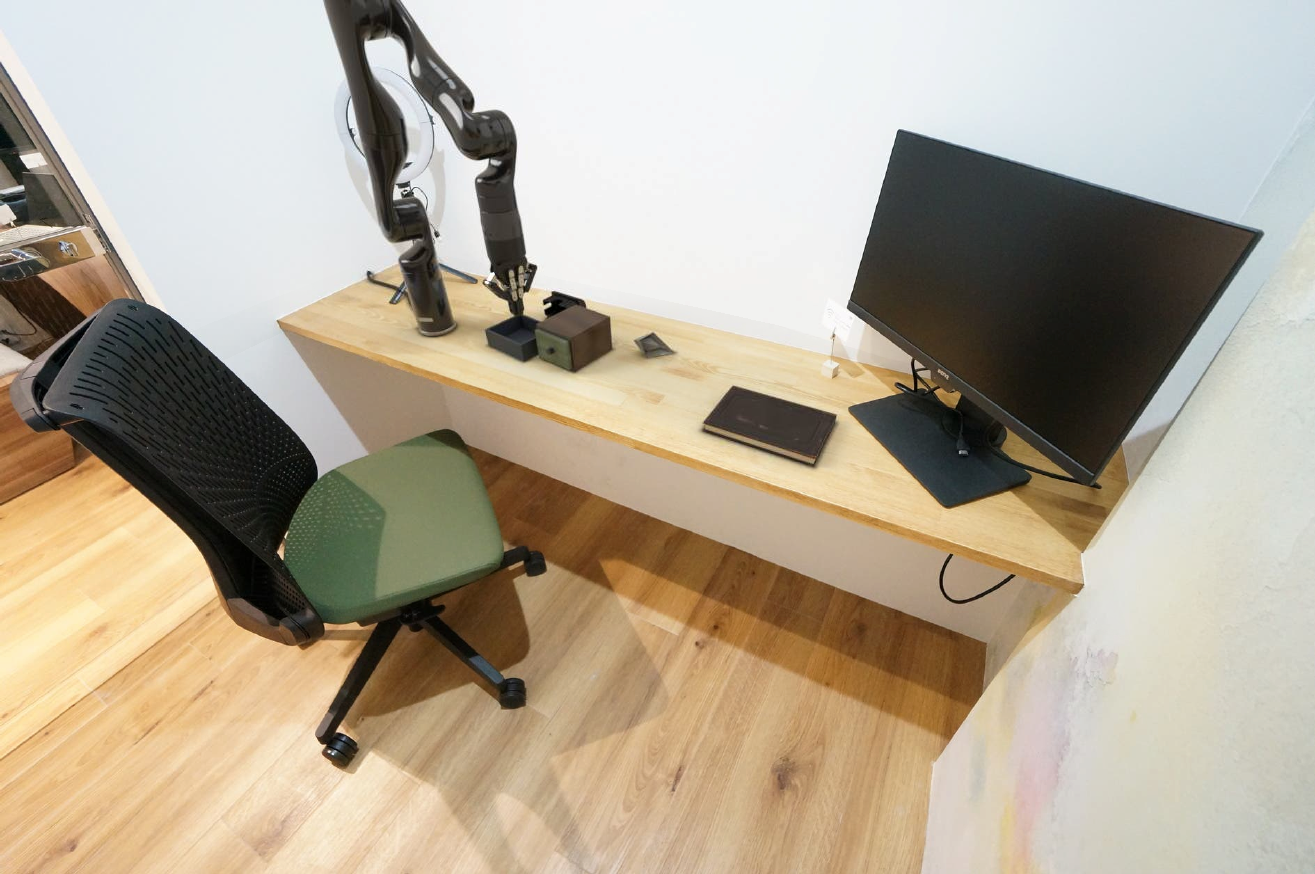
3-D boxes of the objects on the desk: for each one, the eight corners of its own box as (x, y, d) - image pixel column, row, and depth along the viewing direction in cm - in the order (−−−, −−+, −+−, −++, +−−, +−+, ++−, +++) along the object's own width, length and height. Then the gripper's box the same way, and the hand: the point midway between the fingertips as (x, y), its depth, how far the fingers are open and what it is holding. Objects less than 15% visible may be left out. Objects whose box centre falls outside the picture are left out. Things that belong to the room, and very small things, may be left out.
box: (488, 345, 137) (484, 329, 134) (522, 328, 144) (520, 313, 141) (524, 361, 130) (520, 345, 127) (558, 343, 137) (556, 327, 135)
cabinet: (574, 372, 126) (570, 338, 121) (541, 357, 132) (535, 324, 126) (612, 349, 135) (610, 316, 129) (579, 336, 140) (575, 304, 135)
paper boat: (662, 336, 137) (686, 340, 131) (656, 361, 138) (680, 365, 131) (626, 324, 129) (651, 327, 122) (620, 350, 130) (644, 354, 123)
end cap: (588, 318, 148) (585, 295, 144) (570, 328, 144) (568, 305, 140) (561, 310, 153) (558, 287, 149) (544, 319, 148) (540, 296, 144)
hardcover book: (813, 467, 99) (815, 457, 98) (702, 431, 108) (702, 422, 107) (835, 421, 110) (837, 413, 109) (732, 392, 119) (733, 383, 118)
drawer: (565, 372, 125) (561, 345, 120) (535, 359, 130) (530, 332, 125) (604, 349, 133) (602, 322, 128) (574, 337, 138) (571, 311, 133)
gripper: (488, 246, 96) (505, 331, 107) (541, 227, 104) (552, 308, 115) (462, 237, 100) (481, 321, 111) (516, 219, 108) (529, 299, 119)
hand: (517, 314), depth 113 cm, fingers closed
